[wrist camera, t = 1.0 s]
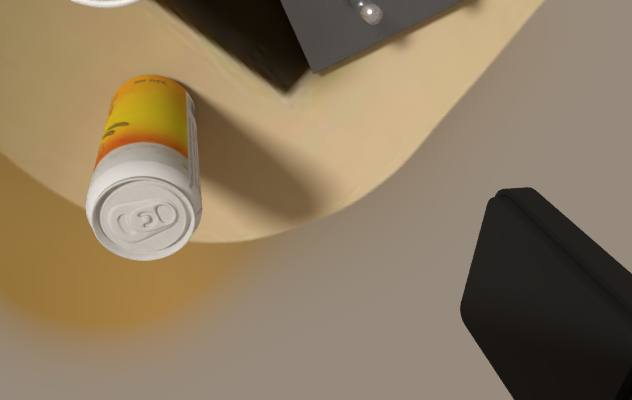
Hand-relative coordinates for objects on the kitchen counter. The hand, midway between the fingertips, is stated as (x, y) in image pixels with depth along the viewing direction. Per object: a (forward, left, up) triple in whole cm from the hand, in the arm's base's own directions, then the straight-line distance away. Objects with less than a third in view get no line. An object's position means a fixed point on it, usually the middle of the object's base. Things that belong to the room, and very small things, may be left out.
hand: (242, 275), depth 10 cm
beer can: (+8, +8, -33) cm, 35 cm away
